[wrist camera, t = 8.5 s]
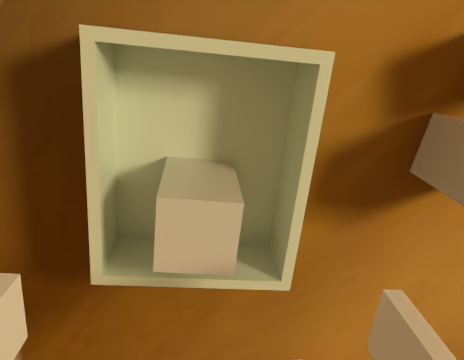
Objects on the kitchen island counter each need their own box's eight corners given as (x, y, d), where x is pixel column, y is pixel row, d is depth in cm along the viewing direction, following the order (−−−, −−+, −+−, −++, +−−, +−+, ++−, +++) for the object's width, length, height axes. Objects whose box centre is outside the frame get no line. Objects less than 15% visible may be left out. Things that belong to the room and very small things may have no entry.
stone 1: (226, 219, 24) (233, 275, 18) (163, 215, 23) (152, 271, 18) (233, 162, 22) (244, 203, 17) (167, 156, 22) (156, 197, 16)
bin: (274, 248, 25) (289, 290, 21) (109, 241, 24) (91, 284, 20) (308, 48, 21) (335, 52, 17) (104, 26, 19) (79, 24, 15)
